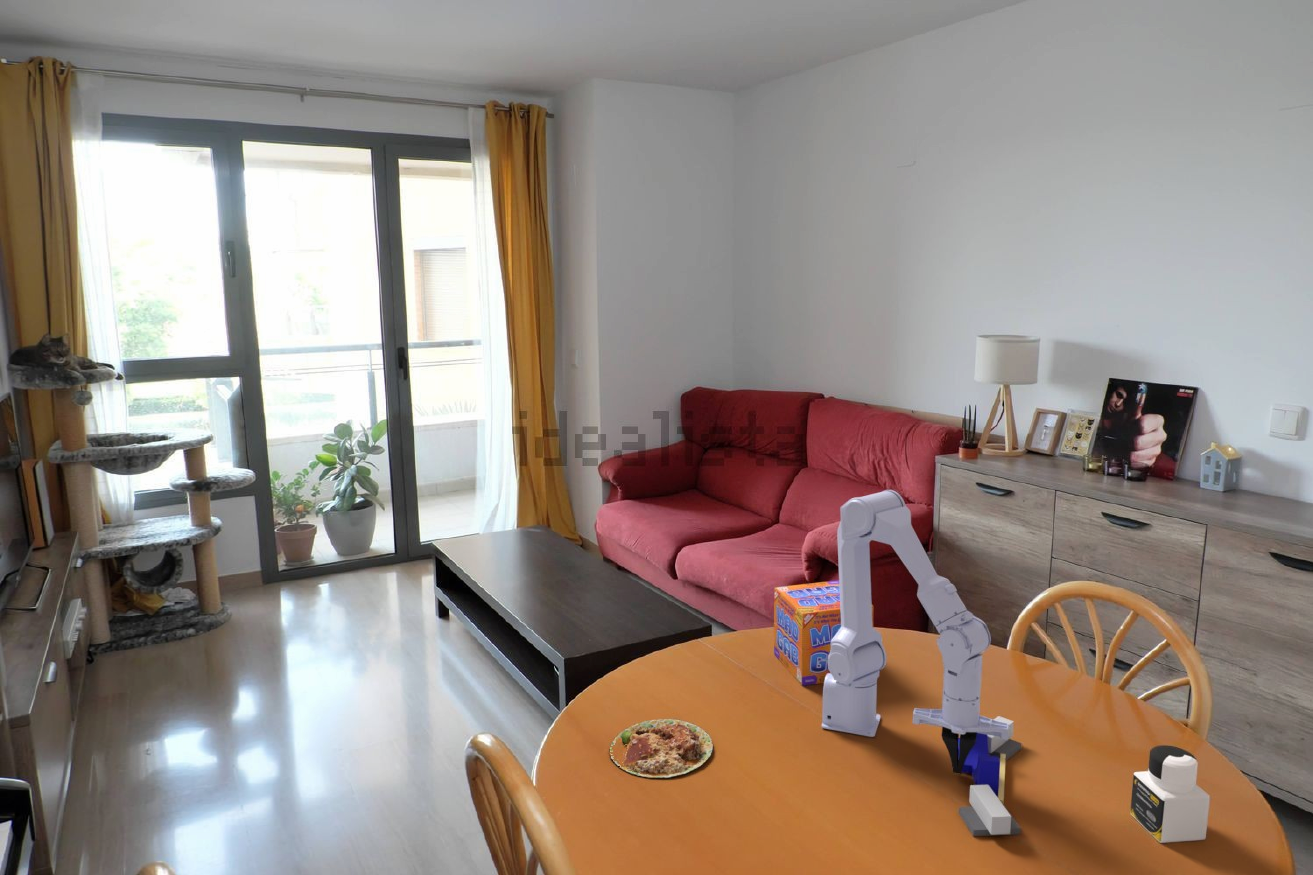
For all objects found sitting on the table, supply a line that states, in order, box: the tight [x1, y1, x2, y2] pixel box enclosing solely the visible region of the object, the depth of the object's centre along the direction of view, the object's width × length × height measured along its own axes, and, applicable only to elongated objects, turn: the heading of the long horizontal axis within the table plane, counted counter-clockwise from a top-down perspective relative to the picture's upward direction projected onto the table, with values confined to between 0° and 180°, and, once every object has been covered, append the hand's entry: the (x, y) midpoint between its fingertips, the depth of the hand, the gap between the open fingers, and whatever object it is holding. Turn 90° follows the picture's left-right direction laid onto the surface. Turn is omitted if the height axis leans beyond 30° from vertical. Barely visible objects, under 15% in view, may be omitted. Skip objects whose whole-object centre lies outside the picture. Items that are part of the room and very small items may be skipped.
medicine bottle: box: [1129, 744, 1211, 844], centre depth 128 cm, size 7×7×12 cm
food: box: [608, 718, 714, 779], centre depth 152 cm, size 18×18×3 cm
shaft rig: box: [958, 715, 1022, 837], centre depth 140 cm, size 9×31×4 cm, turn 157°
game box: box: [773, 580, 875, 686], centre depth 182 cm, size 16×16×16 cm
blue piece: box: [958, 733, 1000, 797], centre depth 143 cm, size 12×4×6 cm, turn 169°
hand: (957, 770), depth 142 cm, fingers closed
